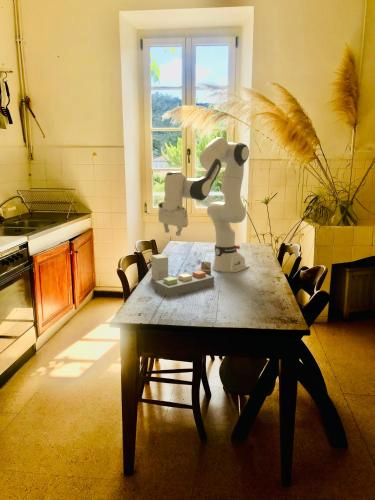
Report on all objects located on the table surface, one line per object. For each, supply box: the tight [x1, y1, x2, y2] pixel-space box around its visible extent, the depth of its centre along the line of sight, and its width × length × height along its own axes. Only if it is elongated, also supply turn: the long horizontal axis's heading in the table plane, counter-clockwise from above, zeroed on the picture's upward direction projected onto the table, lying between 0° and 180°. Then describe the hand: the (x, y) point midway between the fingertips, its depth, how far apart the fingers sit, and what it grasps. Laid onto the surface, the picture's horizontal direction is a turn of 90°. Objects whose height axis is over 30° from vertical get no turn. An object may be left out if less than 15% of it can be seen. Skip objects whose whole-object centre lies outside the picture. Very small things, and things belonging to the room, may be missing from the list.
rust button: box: [192, 270, 206, 278], centre depth 201 cm, size 5×5×4 cm
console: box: [154, 272, 215, 298], centre depth 197 cm, size 28×12×4 cm, turn 127°
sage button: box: [163, 276, 177, 285], centre depth 191 cm, size 5×5×4 cm
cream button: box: [178, 273, 192, 282], centre depth 196 cm, size 5×5×4 cm
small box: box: [151, 253, 169, 282], centre depth 208 cm, size 8×6×13 cm
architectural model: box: [197, 261, 212, 276], centre depth 218 cm, size 3×7×7 cm, turn 76°
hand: (172, 234), depth 190 cm, fingers open, 8 cm apart
